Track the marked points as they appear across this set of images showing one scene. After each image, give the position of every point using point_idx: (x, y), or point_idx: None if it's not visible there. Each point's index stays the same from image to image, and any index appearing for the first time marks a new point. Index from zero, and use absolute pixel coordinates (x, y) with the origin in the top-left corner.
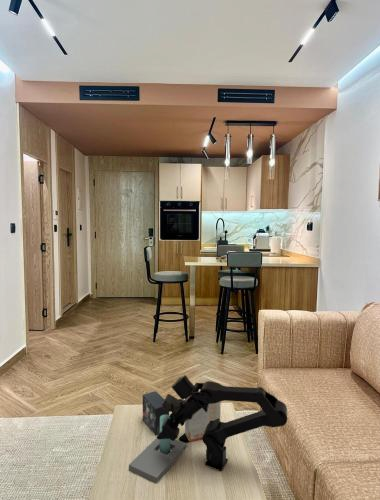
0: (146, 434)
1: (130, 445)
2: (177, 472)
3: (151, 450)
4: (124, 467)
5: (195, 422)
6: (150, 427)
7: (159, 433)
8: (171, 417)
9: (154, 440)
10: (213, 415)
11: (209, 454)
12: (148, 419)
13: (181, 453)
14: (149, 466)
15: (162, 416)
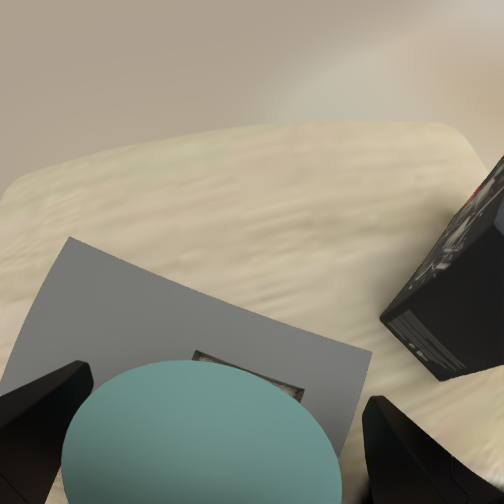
0: (370, 261)
1: (258, 205)
2: None
3: (182, 335)
4: (99, 226)
5: None
6: (421, 266)
7: (30, 388)
8: (410, 497)
9: (293, 330)
10: None
11: None
12: (449, 232)
13: None
14: (52, 347)
15: (239, 419)
